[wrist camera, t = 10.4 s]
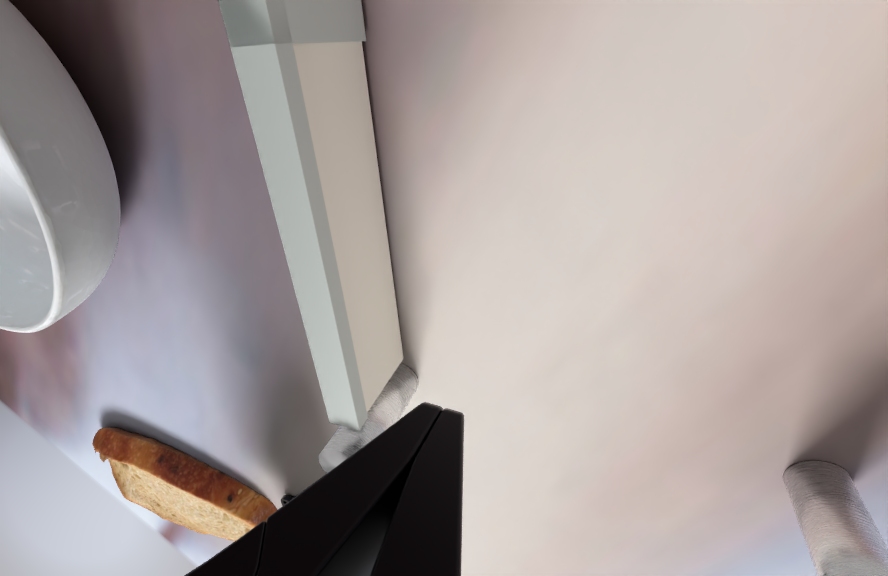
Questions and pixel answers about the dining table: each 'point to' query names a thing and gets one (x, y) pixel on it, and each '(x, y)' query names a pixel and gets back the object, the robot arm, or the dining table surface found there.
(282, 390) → the dining table surface
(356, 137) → the bar
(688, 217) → the dining table surface
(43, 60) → the serving bowl
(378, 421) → the hinge post
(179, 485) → the bread slice
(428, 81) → the dining table surface
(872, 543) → the post
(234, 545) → the robot arm
